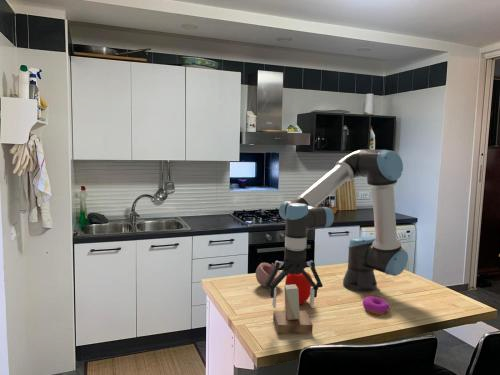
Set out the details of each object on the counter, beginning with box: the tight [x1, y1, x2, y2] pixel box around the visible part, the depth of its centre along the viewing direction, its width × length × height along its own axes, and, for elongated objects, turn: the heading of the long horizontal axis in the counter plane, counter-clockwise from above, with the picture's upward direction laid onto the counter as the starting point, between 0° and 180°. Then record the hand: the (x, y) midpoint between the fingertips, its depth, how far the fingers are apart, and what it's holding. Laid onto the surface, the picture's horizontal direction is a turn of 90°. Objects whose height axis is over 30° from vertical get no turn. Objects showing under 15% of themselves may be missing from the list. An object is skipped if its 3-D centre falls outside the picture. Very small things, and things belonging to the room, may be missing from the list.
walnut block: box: [272, 310, 314, 336], centre depth 137 cm, size 12×11×4 cm
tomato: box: [284, 271, 313, 305], centre depth 157 cm, size 13×11×14 cm
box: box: [283, 284, 300, 320], centre depth 136 cm, size 5×4×11 cm
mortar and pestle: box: [255, 262, 282, 289], centre depth 173 cm, size 12×12×12 cm
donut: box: [362, 295, 391, 316], centre depth 153 cm, size 10×10×4 cm
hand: (292, 306), depth 136 cm, fingers open, 13 cm apart
